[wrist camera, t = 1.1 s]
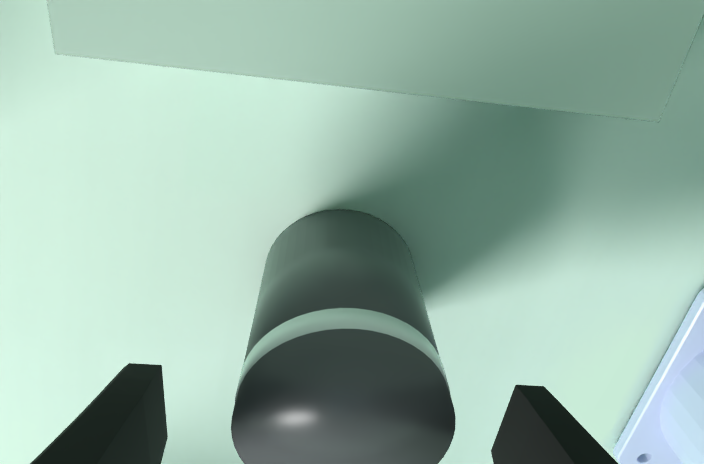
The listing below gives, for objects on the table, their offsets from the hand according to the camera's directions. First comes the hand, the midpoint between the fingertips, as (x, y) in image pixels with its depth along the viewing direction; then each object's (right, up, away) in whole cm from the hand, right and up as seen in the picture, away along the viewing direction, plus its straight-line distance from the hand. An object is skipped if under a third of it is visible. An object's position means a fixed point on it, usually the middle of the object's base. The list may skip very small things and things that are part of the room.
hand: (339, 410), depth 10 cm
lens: (0, +2, +4) cm, 5 cm away
